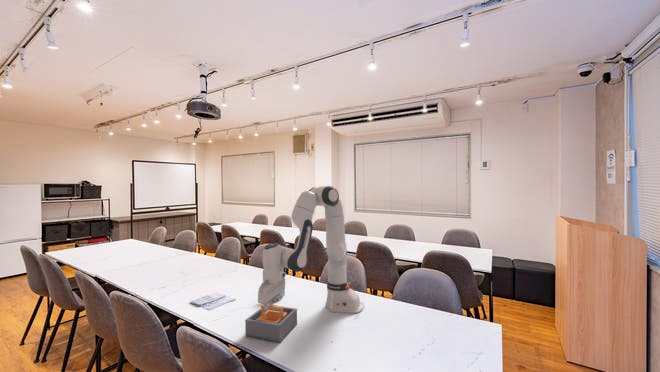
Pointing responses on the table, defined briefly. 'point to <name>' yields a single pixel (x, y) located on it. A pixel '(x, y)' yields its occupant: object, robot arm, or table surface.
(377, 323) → the table surface
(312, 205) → the robot arm
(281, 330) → the box
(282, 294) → the light bulb box
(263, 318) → the small crate
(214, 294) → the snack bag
